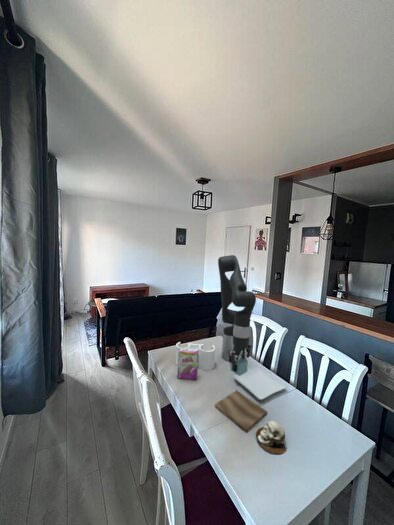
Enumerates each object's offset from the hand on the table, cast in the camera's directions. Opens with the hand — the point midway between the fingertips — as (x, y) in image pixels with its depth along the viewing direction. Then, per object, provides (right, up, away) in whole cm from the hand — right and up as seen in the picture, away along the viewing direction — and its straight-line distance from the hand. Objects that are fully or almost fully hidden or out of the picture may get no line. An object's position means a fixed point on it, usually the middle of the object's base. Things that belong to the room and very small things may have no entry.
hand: (238, 368), depth 103 cm
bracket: (-21, -16, +38) cm, 46 cm away
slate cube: (0, -1, 0) cm, 1 cm away
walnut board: (+1, -20, +1) cm, 20 cm away
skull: (+10, -23, -14) cm, 29 cm away
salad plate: (+15, -20, +20) cm, 32 cm away
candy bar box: (-25, -17, +24) cm, 39 cm away
